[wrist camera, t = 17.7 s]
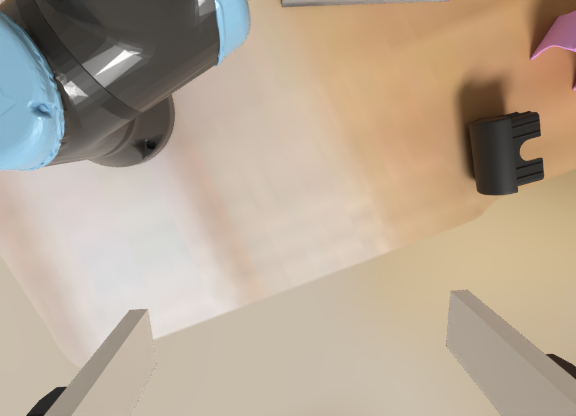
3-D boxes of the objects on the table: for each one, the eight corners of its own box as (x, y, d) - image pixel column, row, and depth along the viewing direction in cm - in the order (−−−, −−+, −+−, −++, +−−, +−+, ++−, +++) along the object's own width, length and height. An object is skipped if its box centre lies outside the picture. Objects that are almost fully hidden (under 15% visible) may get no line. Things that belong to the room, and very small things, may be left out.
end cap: (456, 124, 47) (486, 123, 40) (504, 110, 46) (542, 107, 40) (465, 189, 49) (495, 199, 42) (511, 177, 49) (548, 184, 42)
